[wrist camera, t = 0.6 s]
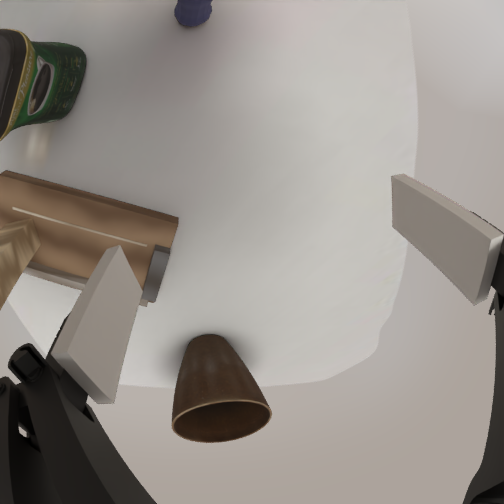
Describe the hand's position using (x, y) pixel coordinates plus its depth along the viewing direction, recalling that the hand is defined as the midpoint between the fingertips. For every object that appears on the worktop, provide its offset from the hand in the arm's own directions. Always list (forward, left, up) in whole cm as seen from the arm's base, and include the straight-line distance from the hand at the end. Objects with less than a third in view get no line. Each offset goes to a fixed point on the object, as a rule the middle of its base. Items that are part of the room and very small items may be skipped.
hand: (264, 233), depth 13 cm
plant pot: (+33, +11, -24) cm, 42 cm away
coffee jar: (-2, -22, -24) cm, 32 cm away
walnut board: (+17, -14, -24) cm, 32 cm away
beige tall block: (+18, -22, -22) cm, 35 cm away
